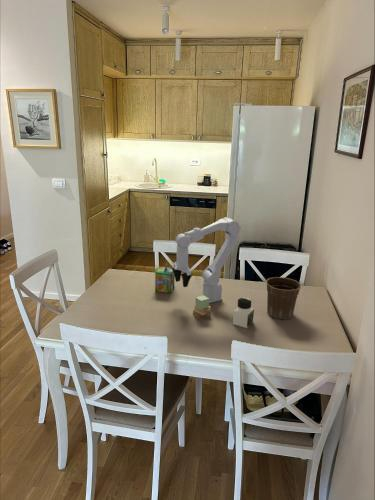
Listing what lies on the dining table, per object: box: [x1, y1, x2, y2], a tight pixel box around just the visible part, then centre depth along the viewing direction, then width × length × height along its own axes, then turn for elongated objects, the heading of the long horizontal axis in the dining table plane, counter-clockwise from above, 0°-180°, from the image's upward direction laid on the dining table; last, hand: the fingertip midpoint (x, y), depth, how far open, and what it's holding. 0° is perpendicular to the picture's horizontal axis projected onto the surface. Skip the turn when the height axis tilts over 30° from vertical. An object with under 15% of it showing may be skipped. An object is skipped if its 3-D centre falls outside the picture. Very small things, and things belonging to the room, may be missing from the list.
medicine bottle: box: [232, 297, 255, 329], centre depth 166 cm, size 7×7×12 cm
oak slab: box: [193, 305, 212, 315], centre depth 173 cm, size 6×6×2 cm
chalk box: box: [154, 263, 176, 294], centre depth 199 cm, size 9×9×15 cm
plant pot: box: [265, 276, 302, 320], centre depth 175 cm, size 16×16×16 cm
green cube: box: [195, 294, 210, 310], centre depth 172 cm, size 4×4×4 cm
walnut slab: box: [192, 309, 211, 321], centre depth 174 cm, size 6×6×2 cm
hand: (181, 283), depth 183 cm, fingers open, 7 cm apart
